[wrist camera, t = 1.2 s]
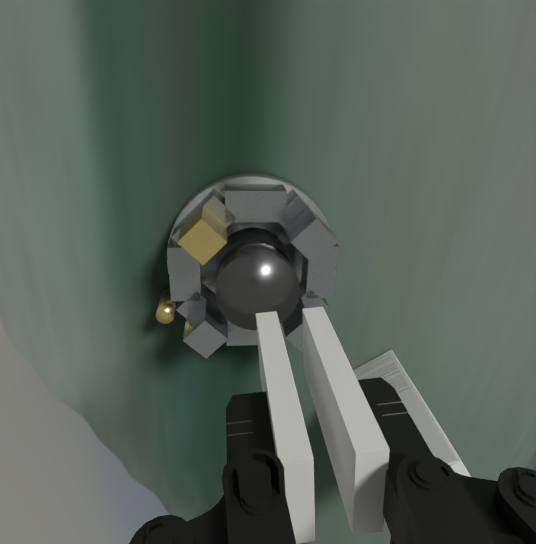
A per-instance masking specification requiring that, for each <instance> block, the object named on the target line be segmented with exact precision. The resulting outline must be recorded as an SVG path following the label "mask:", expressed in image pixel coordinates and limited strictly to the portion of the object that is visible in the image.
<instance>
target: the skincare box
mask: <svg viewBox="0 0 536 544" xmlns="http://www.w3.org/2000/svg"><path fill="white" fill-rule="evenodd" d="M353 372H354V374H355V376H356V378H357V380H361V379H370V378H378V377H381V378H383V379H384V380H385V381H386V382H388V383H389V384H390V385H392V386H393V387H394V388H395V390H396V392H397V393H398V395H399V397H400V399H401V400H402V403H403V404H404V406H405V407H406V409H407V411H408V414H410V416H411V418H412V419H413V421H414V423H415V425H416V426H417V428H418V430H419V432H420V433H421V435H422V437H423V438H424V440H425V442H426V444H427V445H428V447H429V449H430V451H431V452H432V454H433V455H434V456H435V457H437V458H440V459H441V460H443V461H444V462H445V463H447V464H448V465H450V467H451V468H452V469H453V470H454V472H456V473H458V474H461V475H464V476H468V477H471V476H470V474H469V473H468V471H467V469H466V468H465V466H464V464H463V463H462V461H461V459H460V458H459V456H458V454H457V453H456V451H455V449H454V448H453V446H452V445H451V443H450V441H449V440H448V438H447V436H446V435H445V433H444V432H443V430H442V428H441V427H440V425H439V423H438V422H437V420H436V419H435V417H434V416H433V414H432V412H431V411H430V409H429V408H428V406H427V404H426V403H425V401H424V400H423V398H422V397H421V395H420V394H419V392H418V390H417V389H416V387H415V386H414V384H413V382H412V381H411V379H410V378H409V376H408V374H407V373H406V371H405V370H404V368H403V367H402V365H401V363H400V362H399V360H398V359H397V357H396V356H395V354H394V353H393V351H392V350H388V351H387V352H385V353H383V354H381V355H379V356H378V357H376V358H374V359H372V360H370V361H369V362H367V363H365V364H363V365H361V366H359V367H358V368H356V369H354V370H353Z"/></svg>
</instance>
